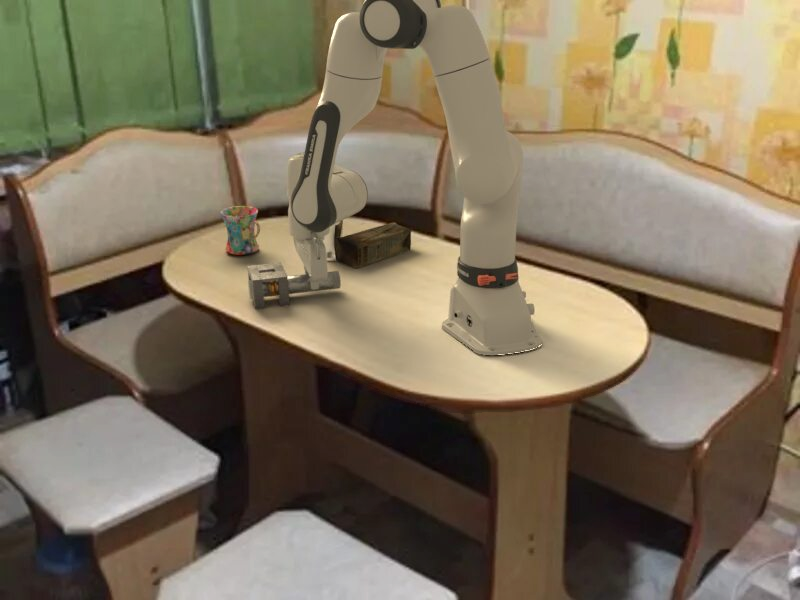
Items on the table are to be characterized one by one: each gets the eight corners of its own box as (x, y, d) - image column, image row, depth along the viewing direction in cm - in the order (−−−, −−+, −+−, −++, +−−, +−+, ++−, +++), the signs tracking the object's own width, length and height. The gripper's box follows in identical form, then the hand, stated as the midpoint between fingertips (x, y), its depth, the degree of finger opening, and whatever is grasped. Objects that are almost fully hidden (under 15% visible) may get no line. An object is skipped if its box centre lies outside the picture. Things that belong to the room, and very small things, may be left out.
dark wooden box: (412, 250, 225) (412, 226, 223) (357, 270, 213) (356, 244, 210) (391, 243, 231) (390, 219, 228) (335, 262, 218) (334, 237, 216)
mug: (216, 252, 225) (212, 212, 221) (245, 242, 231) (241, 203, 227) (246, 263, 218) (243, 221, 213) (275, 253, 224) (272, 212, 220)
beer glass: (347, 252, 224) (345, 195, 218) (343, 262, 217) (341, 203, 211) (320, 252, 224) (317, 194, 218) (315, 261, 218) (312, 203, 212)
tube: (337, 285, 202) (336, 268, 201) (340, 291, 198) (340, 273, 197) (249, 295, 197) (247, 277, 196) (251, 301, 193) (250, 283, 192)
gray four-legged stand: (289, 305, 193) (287, 276, 191) (255, 309, 192) (252, 280, 189) (282, 290, 201) (280, 262, 199) (249, 293, 199) (247, 266, 197)
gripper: (333, 238, 184) (335, 299, 190) (314, 210, 202) (317, 266, 208) (303, 241, 183) (306, 303, 188) (287, 212, 201) (290, 269, 206)
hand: (312, 283), depth 198 cm, fingers closed on tube, 4 cm apart
